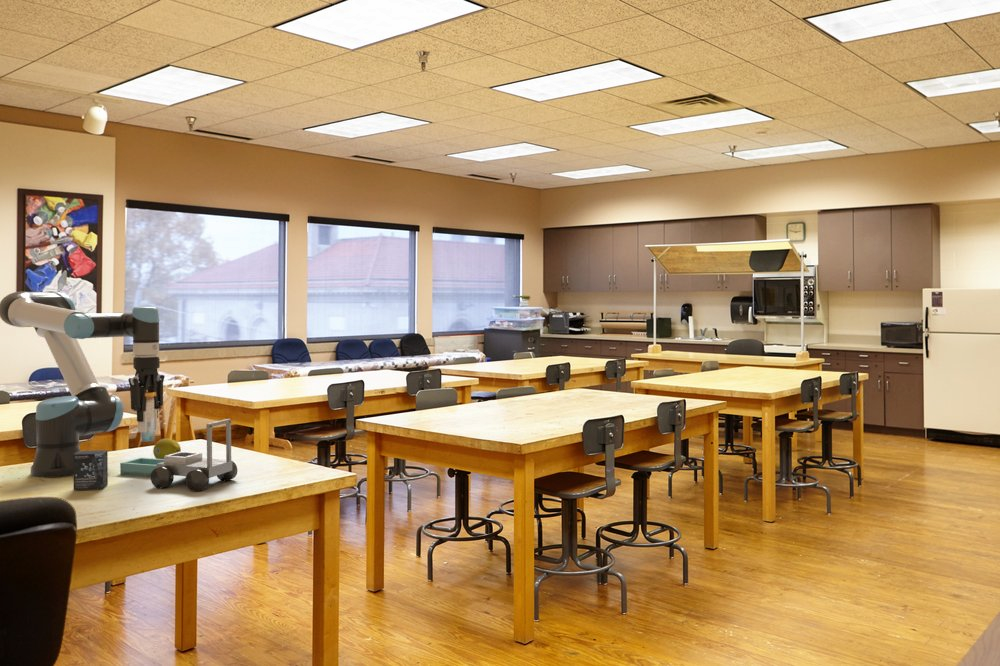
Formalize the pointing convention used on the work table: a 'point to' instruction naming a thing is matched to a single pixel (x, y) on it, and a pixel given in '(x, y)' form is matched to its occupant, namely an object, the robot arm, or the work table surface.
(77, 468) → the box
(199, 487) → the trolley
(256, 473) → the work table surface
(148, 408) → the clear tube with cap
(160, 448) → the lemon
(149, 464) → the tray
